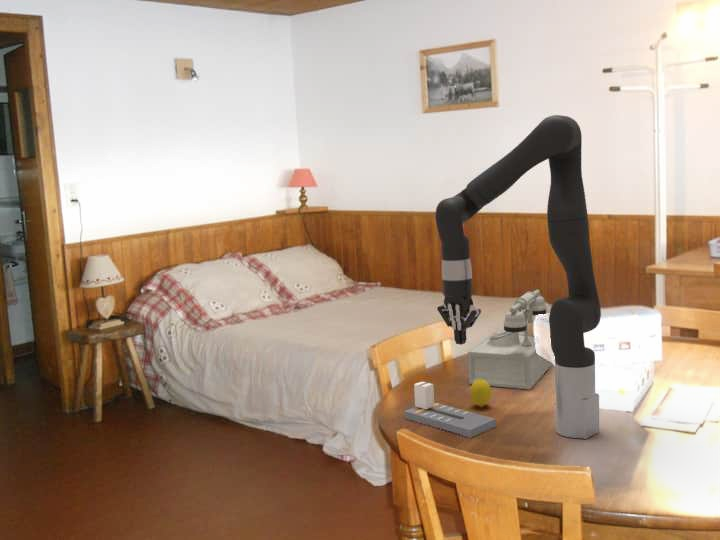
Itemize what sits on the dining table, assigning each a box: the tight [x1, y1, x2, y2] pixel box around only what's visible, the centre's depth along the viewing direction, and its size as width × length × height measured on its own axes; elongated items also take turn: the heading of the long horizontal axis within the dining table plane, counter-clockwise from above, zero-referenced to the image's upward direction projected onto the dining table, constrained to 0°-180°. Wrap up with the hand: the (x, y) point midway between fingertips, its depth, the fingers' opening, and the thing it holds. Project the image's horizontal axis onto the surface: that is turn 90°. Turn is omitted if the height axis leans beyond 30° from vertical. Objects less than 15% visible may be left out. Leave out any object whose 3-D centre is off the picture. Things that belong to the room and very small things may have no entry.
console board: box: [404, 401, 497, 439], centre depth 209 cm, size 22×10×2 cm, turn 42°
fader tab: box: [413, 381, 435, 409], centre depth 214 cm, size 4×3×6 cm
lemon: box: [469, 378, 492, 408], centre depth 218 cm, size 6×6×8 cm
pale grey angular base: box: [467, 289, 552, 390], centre depth 244 cm, size 32×20×25 cm, turn 153°
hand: (460, 343), depth 209 cm, fingers closed
